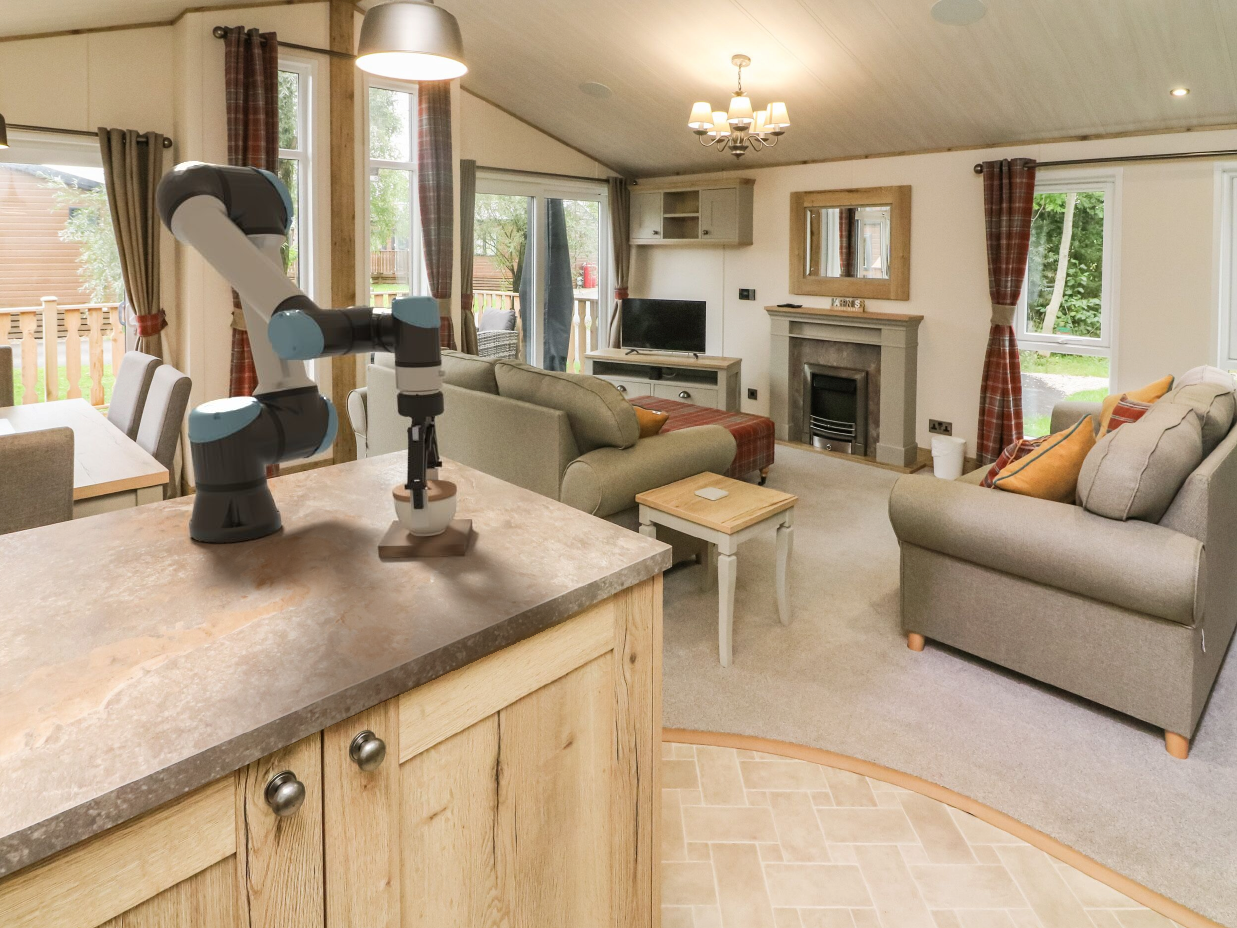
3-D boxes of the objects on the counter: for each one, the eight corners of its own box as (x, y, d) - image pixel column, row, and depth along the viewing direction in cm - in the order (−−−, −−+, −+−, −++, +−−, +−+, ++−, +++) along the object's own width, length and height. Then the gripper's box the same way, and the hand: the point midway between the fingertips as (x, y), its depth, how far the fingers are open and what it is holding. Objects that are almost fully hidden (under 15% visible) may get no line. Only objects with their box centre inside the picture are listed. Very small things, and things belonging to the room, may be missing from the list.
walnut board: (378, 557, 137) (377, 546, 136) (394, 530, 150) (393, 520, 150) (464, 555, 138) (464, 544, 137) (472, 529, 151) (472, 518, 151)
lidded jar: (444, 542, 138) (441, 488, 136) (384, 539, 140) (380, 485, 138) (468, 522, 148) (465, 471, 146) (411, 519, 150) (408, 469, 148)
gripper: (432, 402, 126) (439, 537, 131) (451, 380, 150) (456, 495, 155) (382, 403, 126) (390, 538, 131) (409, 380, 150) (415, 495, 155)
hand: (426, 515), depth 143 cm, fingers open, 12 cm apart
